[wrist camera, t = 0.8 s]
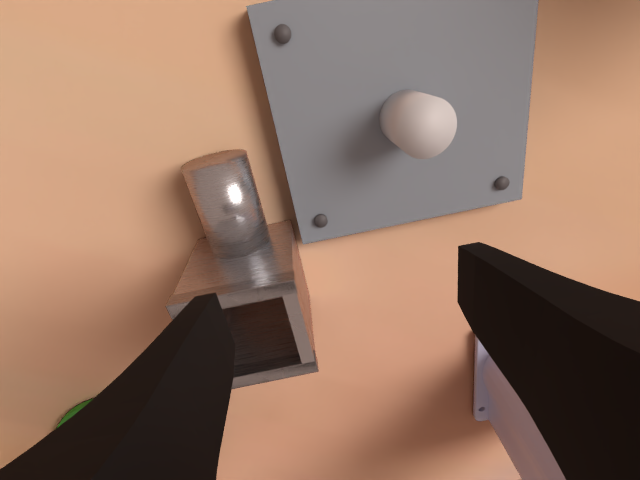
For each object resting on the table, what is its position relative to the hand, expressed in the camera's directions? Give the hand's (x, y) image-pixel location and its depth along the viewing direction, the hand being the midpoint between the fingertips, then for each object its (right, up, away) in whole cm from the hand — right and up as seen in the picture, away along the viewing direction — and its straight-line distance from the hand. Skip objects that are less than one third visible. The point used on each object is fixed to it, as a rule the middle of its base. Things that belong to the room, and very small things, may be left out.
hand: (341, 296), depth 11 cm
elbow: (-5, +2, +9) cm, 11 cm away
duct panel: (+3, +8, +7) cm, 11 cm away
